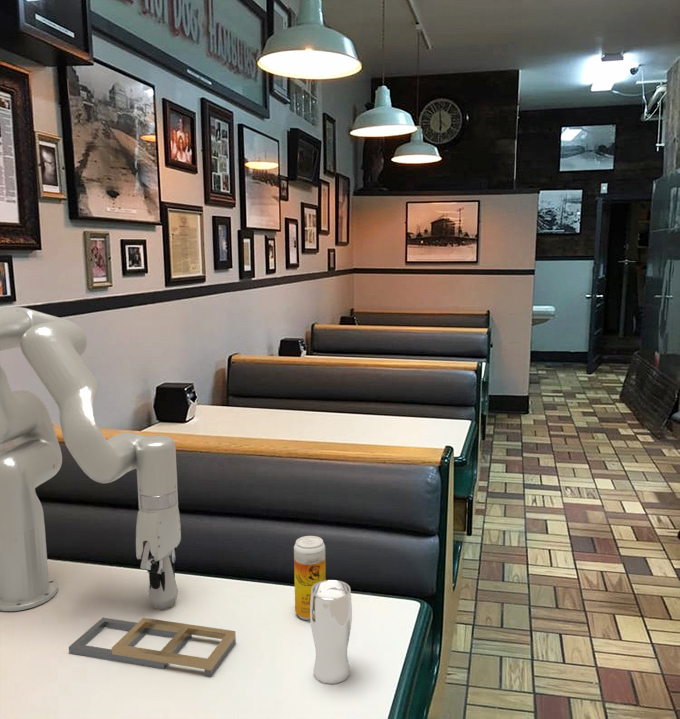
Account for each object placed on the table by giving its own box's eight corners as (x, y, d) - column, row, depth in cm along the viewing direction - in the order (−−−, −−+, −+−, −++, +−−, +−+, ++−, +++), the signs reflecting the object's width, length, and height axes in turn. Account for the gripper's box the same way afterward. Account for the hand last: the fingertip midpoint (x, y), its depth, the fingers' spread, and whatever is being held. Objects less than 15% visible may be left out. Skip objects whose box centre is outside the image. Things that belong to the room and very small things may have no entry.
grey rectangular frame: (69, 653, 114) (68, 646, 114) (103, 623, 124) (102, 617, 124) (164, 669, 110) (163, 662, 109) (191, 636, 119) (191, 630, 119)
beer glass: (338, 691, 104) (337, 604, 101) (302, 677, 107) (301, 592, 105) (359, 668, 109) (359, 585, 107) (325, 655, 113) (324, 575, 111)
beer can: (302, 625, 123) (301, 550, 121) (290, 610, 128) (288, 538, 126) (331, 616, 126) (330, 544, 123) (317, 602, 131) (316, 532, 129)
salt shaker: (182, 598, 133) (179, 538, 131) (172, 613, 127) (169, 550, 126) (155, 597, 134) (151, 537, 132) (144, 611, 128) (140, 549, 126)
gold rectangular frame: (112, 660, 112) (111, 647, 112) (143, 629, 122) (143, 617, 121) (211, 677, 107) (210, 663, 107) (235, 643, 117) (235, 631, 117)
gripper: (162, 484, 136) (166, 566, 139) (117, 512, 120) (123, 604, 123) (194, 486, 134) (198, 569, 137) (153, 516, 119) (158, 609, 121)
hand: (162, 585), depth 130 cm, fingers closed on salt shaker, 3 cm apart
